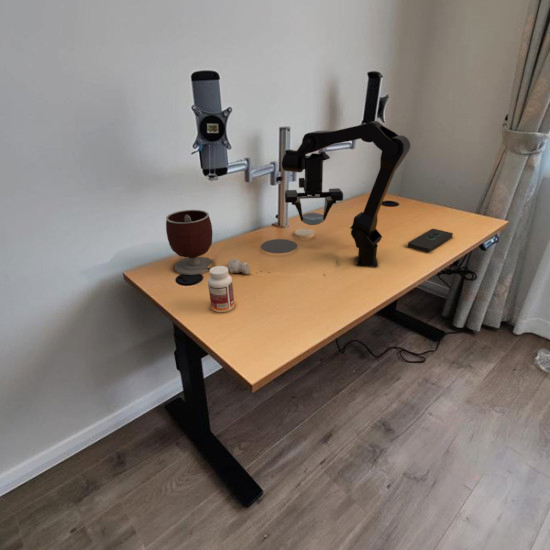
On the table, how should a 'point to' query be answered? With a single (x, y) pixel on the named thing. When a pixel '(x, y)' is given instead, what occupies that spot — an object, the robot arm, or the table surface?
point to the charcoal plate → (279, 246)
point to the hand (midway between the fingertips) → (312, 220)
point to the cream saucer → (304, 233)
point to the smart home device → (430, 240)
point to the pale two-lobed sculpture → (238, 266)
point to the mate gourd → (190, 239)
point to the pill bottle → (221, 289)
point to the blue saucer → (313, 218)
